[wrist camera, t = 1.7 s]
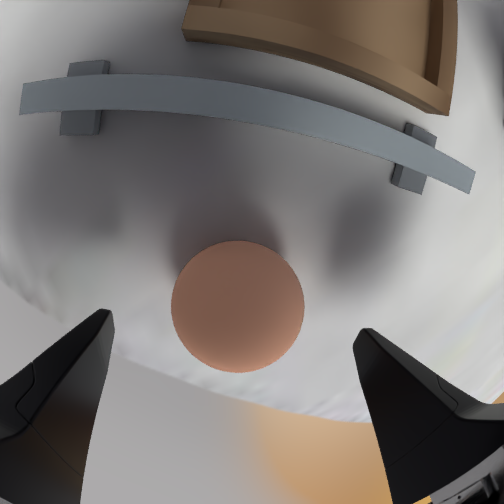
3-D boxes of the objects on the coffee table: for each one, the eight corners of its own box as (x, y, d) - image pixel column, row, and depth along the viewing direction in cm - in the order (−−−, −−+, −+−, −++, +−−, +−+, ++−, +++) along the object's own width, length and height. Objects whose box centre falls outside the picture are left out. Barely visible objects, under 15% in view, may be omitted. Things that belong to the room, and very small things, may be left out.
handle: (429, 135, 11) (480, 148, 8) (414, 191, 12) (461, 217, 9) (76, 65, 7) (29, 53, 4) (66, 133, 9) (17, 146, 6)
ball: (299, 229, 12) (344, 297, 8) (273, 318, 14) (295, 397, 10) (182, 213, 11) (163, 280, 7) (175, 309, 13) (165, 393, 9)
